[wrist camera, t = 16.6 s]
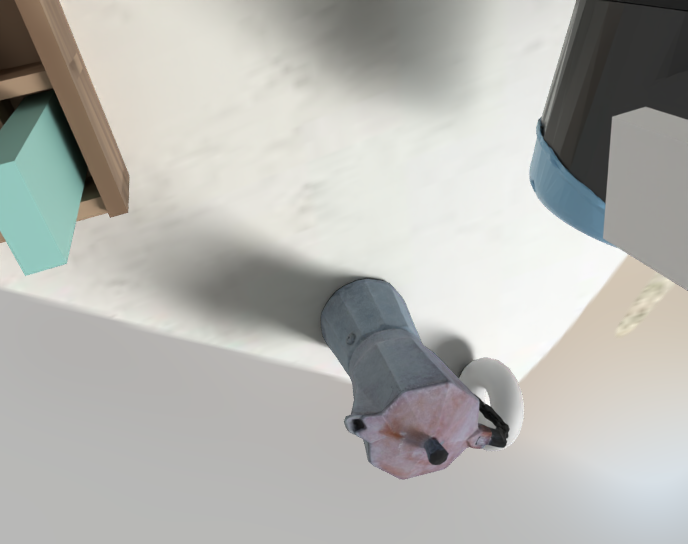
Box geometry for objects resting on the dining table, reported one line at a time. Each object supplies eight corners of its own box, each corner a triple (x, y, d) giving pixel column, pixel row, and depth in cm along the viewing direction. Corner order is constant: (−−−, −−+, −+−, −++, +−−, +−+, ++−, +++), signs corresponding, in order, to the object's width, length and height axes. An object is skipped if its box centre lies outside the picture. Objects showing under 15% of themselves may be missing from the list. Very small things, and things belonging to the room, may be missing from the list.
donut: (465, 408, 70) (510, 470, 61) (441, 409, 68) (483, 473, 60) (492, 339, 65) (543, 396, 57) (466, 339, 64) (515, 397, 56)
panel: (55, 88, 39) (14, 160, 26) (88, 164, 42) (66, 263, 29) (25, 96, 39) (-33, 173, 25) (60, 171, 42) (25, 275, 28)
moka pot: (304, 264, 53) (380, 407, 37) (445, 279, 59) (566, 409, 43) (282, 349, 57) (341, 513, 40) (416, 355, 63) (517, 501, 46)
